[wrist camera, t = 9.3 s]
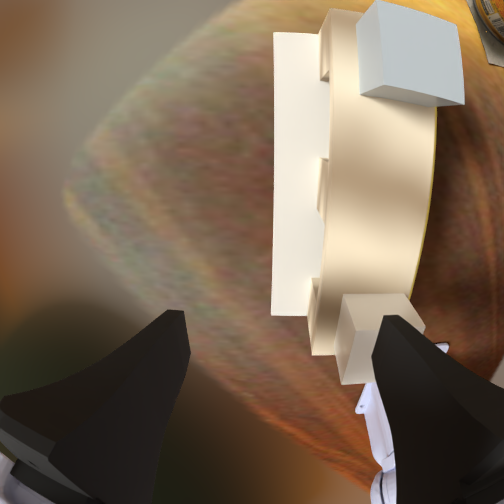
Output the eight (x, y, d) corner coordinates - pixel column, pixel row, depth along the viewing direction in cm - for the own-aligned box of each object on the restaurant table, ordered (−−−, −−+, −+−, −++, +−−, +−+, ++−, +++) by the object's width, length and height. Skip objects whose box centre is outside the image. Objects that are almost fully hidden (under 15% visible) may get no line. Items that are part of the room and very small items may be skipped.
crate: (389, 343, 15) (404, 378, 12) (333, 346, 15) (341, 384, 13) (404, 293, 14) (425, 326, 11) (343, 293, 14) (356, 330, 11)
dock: (396, 299, 21) (405, 314, 19) (271, 299, 21) (270, 316, 20) (420, 62, 14) (434, 57, 12) (273, 42, 14) (273, 31, 12)
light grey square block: (428, 107, 10) (464, 104, 7) (359, 94, 10) (383, 84, 8) (424, 40, 9) (456, 24, 6) (355, 24, 9) (376, -1, 6)
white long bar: (374, 315, 19) (390, 351, 15) (307, 315, 19) (312, 355, 16) (399, 47, 12) (429, 30, 8) (318, 34, 12) (330, 8, 9)
